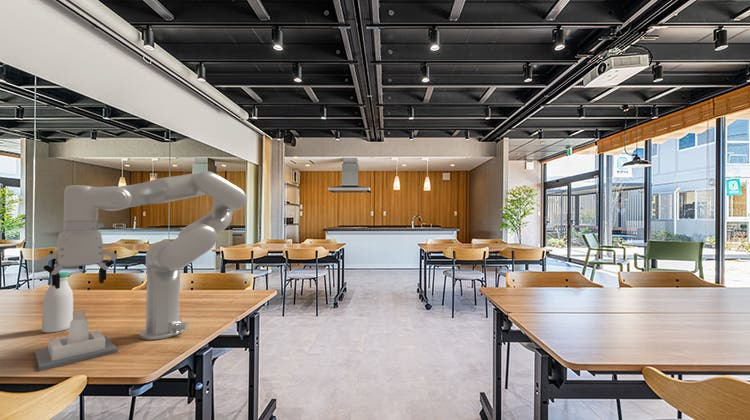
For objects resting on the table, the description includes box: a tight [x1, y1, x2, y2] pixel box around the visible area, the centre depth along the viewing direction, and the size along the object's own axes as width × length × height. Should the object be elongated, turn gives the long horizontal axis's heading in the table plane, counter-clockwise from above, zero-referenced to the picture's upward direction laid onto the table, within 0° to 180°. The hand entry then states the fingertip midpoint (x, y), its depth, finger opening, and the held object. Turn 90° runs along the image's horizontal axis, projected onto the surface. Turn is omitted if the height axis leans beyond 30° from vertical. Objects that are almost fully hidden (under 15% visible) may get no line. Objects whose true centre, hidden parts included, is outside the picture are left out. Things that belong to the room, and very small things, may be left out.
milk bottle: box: [41, 271, 74, 333], centre depth 115 cm, size 8×8×20 cm
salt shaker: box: [67, 310, 89, 345], centre depth 95 cm, size 5×5×11 cm
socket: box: [34, 329, 119, 372], centre depth 94 cm, size 16×16×4 cm
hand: (80, 285), depth 95 cm, fingers open, 9 cm apart
